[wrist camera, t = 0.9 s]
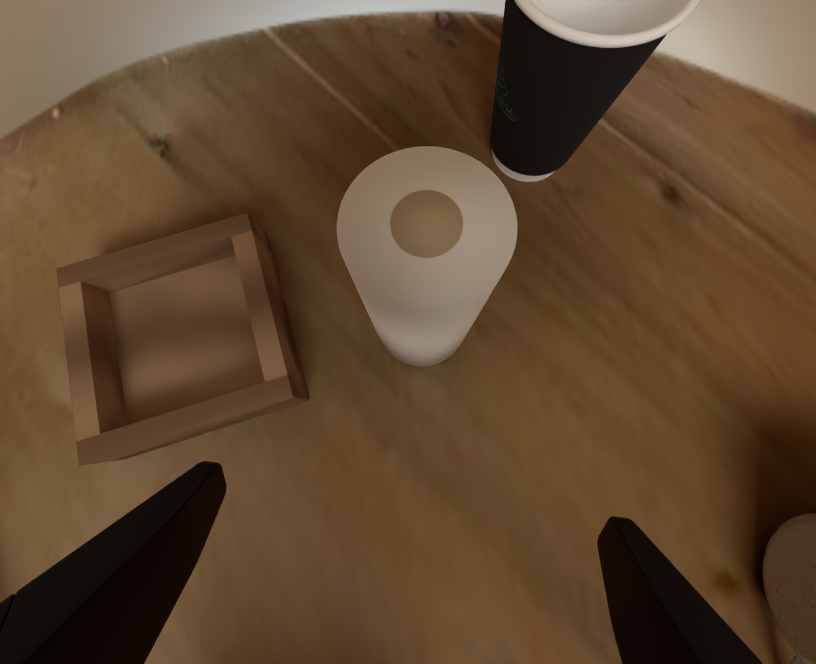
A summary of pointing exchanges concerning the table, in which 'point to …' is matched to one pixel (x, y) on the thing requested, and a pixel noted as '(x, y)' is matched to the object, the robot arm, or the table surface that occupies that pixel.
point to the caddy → (176, 339)
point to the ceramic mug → (793, 584)
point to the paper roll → (425, 247)
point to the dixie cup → (567, 73)
